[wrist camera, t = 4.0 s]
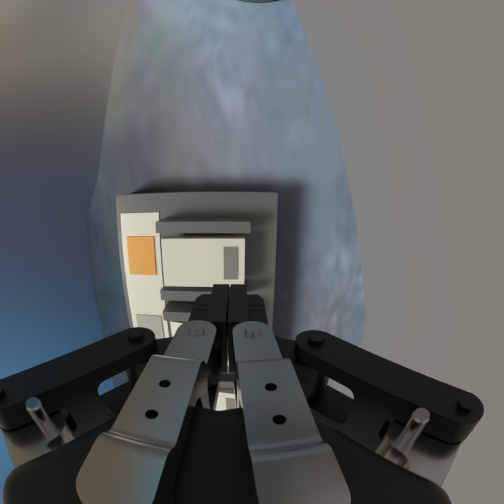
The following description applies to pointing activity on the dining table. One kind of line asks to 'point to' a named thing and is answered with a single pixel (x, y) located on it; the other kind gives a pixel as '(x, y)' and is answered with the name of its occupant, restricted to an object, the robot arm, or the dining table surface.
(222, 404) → the switch
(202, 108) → the dining table surface
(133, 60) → the dining table surface
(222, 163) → the dining table surface
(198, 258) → the switch
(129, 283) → the switch unit
